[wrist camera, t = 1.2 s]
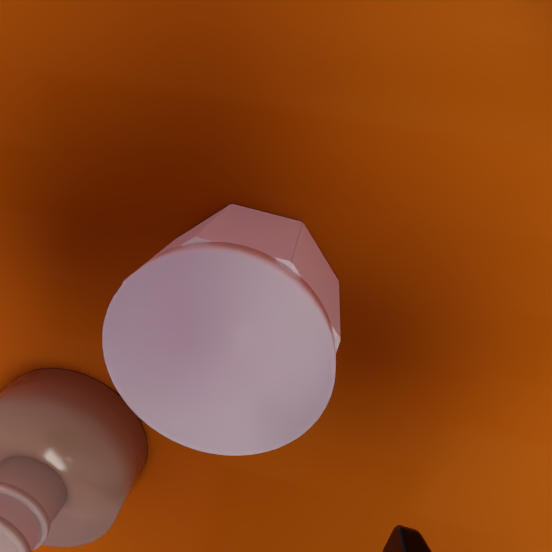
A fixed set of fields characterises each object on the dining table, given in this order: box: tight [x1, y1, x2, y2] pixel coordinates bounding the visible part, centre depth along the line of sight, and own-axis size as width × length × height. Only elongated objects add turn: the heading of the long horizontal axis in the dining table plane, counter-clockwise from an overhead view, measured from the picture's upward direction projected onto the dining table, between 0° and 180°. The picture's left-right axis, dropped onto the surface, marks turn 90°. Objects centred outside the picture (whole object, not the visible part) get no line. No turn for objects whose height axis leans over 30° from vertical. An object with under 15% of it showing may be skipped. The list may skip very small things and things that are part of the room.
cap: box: [102, 204, 341, 456], centre depth 14 cm, size 7×7×5 cm
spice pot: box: [0, 368, 147, 552], centre depth 17 cm, size 8×8×7 cm
